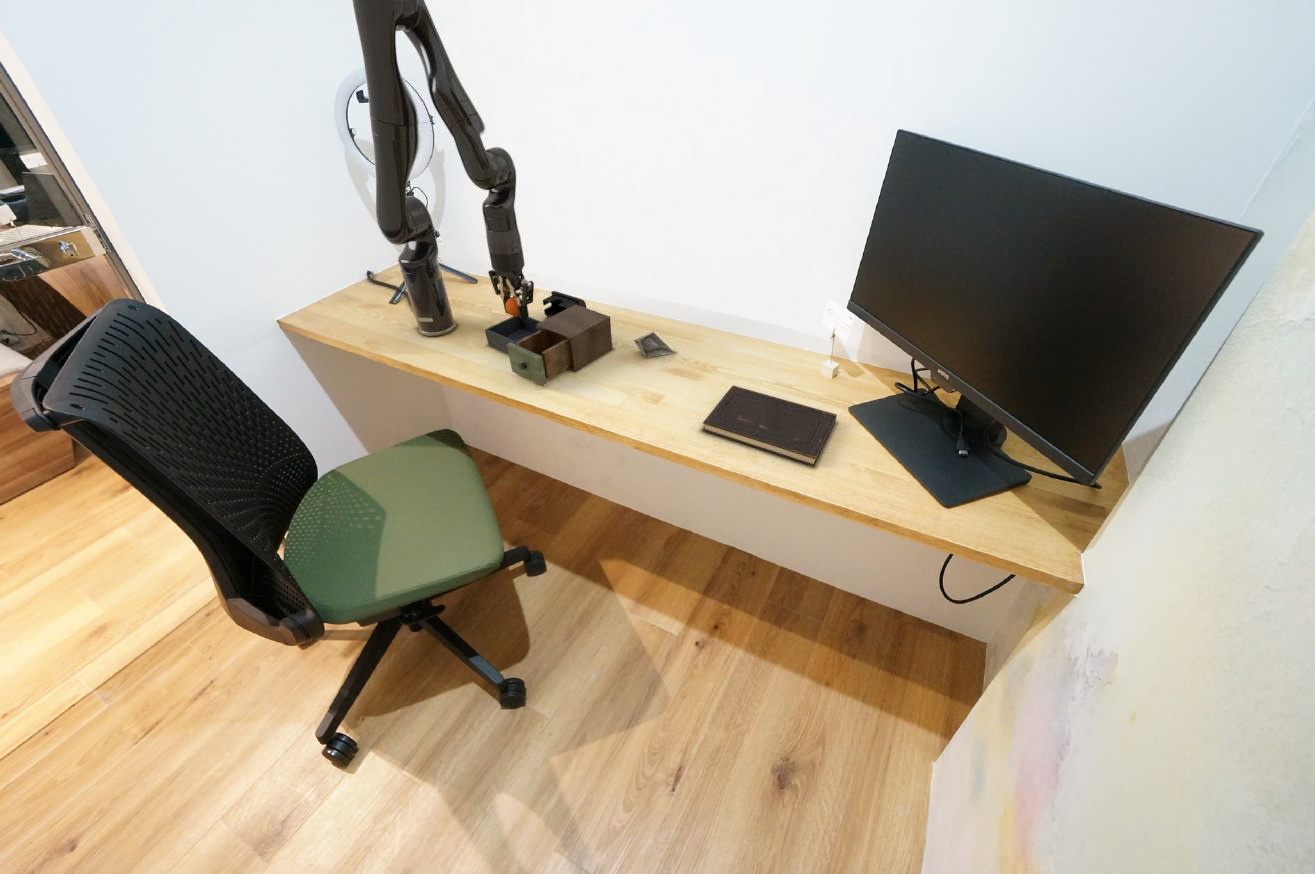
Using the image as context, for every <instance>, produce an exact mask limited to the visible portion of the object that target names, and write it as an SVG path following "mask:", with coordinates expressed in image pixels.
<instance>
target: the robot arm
mask: <svg viewBox="0 0 1315 874" xmlns="http://www.w3.org/2000/svg"><path fill="white" fill-rule="evenodd" d="M352 6H353V12H354V17H355V22H356V27H357V31H358V32H357V33H358V36H359V37H358V38H359V42H360V48H361V52H362V53H361V54H362V58H363V64H364V65H363V67H364V72H365V80H366V87H367V96H368V109H369V110H368V111H369V121H370V130H371V137H372V144H373V153H374V154H373V156H374V168H375V169H374V170H375V215H376V216H375V217H376V223H377V225H378V229H379V230H380V233H381V234H382V236H383V237H384V239H385V240H386V241H387V242H389V243H390V244H392V245H395V246H400V245H401V246H402V245H404V248H403V249H402V251H401V252H400V254H399V255H398V258H397V262H398V263H397V264H398V267H399V269H400V273H401V276H402V279H403V282H404V285H405V288H406V290H404V292H403V293H402V294H404V296H406V298H407V302H408V304H409V306H410V307H411V308H412V311H413V315H414V319H415V321H416V325H417V327H418V330H419V333H420V334H421V335H423V336H426V337H438V336H443V335H446V334H449V333H451V332H453V331H454V330H455V329H456V327H457V323H456V321H455V317H454V314H453V309H452V307H451V303H450V300H449V295H448V292H447V289H446V288H447V287H446V285H445V281H444V278H443V274H442V271H441V267H440V263H439V246H438V245H439V244H438V242H437V241H438V240H437V236H436V232H435V226H434V223H433V220H432V216H431V214H430V211H429V210H428V208H427V206H426V205H425V203H424V202H423V201H422V200H421V199H419V198H418V197H416V196H414V195H407V189H408V183H409V180H410V176H411V173H412V171H413V168H414V166H415V163H416V160H417V157H418V154H419V150H420V137H421V136H420V121H419V120H420V119H419V112H418V108H417V105H416V102H415V100H414V98H413V96H412V93H411V92H410V89H409V87H408V86H407V84H406V82H405V80H404V77H403V75H402V73H401V71H400V66H399V61H398V55H397V43H396V42H397V39H396V37H397V36H396V35H397V32H403V33H404V35H405V36H406V38H407V39H408V40H409V41H410V43H411V44H412V46H413V48H414V49H415V51H416V53H417V54H418V57H419V59H420V61H421V64H422V68H423V71H424V76H425V80H426V86H427V91H428V93H429V97H430V100H431V102H432V104H433V107H434V108H435V110H436V113H437V114H438V116H439V117H440V120H441V121H442V122H443V124H444V126H445V127H446V129H447V130H448V132H449V134H450V136H451V137H452V138H453V140H454V141H453V142H454V144H455V147H456V150H457V153H458V155H459V159H460V161H461V164H462V167H463V169H464V171H465V174H466V175H467V177H468V178H469V180H470V181H471V182H472V183H473V185H475V187H477V188H479V189H480V190H483V191H488V194H487V196H486V197H485V199H484V200H483V201H482V204H481V213H482V217H483V221H484V222H483V223H484V227H485V238H486V245H487V248H488V254H489V259H490V264H491V268H492V269H491V270H488V272H487V273H488V276H489V279H490V282H491V285H492V287H493V290H494V293H495V295H496V296H500V299H501V300H502V303H503V308H504V309H503V310H504V312H505V314H508V315H510V314H509V313H508V312H507V310H506V307H505V305H506V302H507V300H508V299H509V298H511V297H515V299H516V301H517V304H518V311H519V317H520V319H522V320H524V319H526V318H528V316H529V315H530V314H529V308H528V307H529V306H528V305H530V304H532V303H534V292H535V291H534V290H535V283H534V281H533V280H527V279H526V278H525V275H524V273H523V268H524V267H525V257H524V249H523V244H522V238H521V233H520V230H519V226H518V219H517V213H516V207H515V204H516V195H517V194H516V193H517V190H516V189H517V171H516V166H515V162H514V160H513V158H512V156H511V154H510V153H509V152H508V151H507V150H506V149H504V148H502V147H499V146H493V147H490V148H487V149H486V148H485V145H484V143H483V140H482V136H483V135H484V134H485V132H486V125H485V123H484V121H483V118H482V116H481V115H480V114H479V111H478V110H477V108H476V107H475V105H474V103H473V101H472V100H471V98H470V96H469V94H468V93H467V91H466V89H465V87H464V85H463V84H462V82H461V80H460V78H459V76H458V74H457V72H456V70H455V68H454V66H453V64H452V62H451V59H450V57H449V54H448V52H447V50H446V48H445V45H444V44H443V41H442V39H441V36H440V33H439V32H438V30H437V28H436V25H435V23H434V20H433V18H432V15H431V14H430V11H429V8H428V6H427V4H426V1H425V0H352ZM370 271H371V270H370ZM370 271H368V270H366V278H367V280H368V281H370V282H371V283H374V284H377V285H381V286H384V287H387V288H390V289H391V288H392V289H393V290H396V291H399V288H400V287H399V286H396V285H394V284H390V283H387V282H385V281H381V280H376V279H374V278H372V277H371V274H372V271H371V272H370ZM520 298H521V299H522V300H521V299H520ZM529 317H530V316H529Z"/></svg>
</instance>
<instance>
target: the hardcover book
mask: <svg viewBox="0 0 1315 874" xmlns="http://www.w3.org/2000/svg"><path fill="white" fill-rule="evenodd" d="M708 414H709V415H708V416H706V418H705V419H704V420H703V422H702V424H703V425H704V427H703V428H702V432H705V433H708V434H711V435H713V436H717V437H720V438H723V439H727V440H729V441H733V442H735V443H738V444H742V445H744V446H748V447H751V448H754V449H757V450H760V451H763V452H766V453H769V454H773V455H776V456H778V457H781V458H784V459H788V460H791V461H794V462H797V463H800V464H803V465H806V466H809V467H812V468H814V467H815V465H816V463H817V461H818V458H819V457H820V455H821V453H822V451H823V449H824V446H825V444H826V442H827V440H828V438H829V436H830V434H831V432H832V429H833V428H834V426H835V424H836V421H837V417H838V414H836V413H833V412H830V411H826V410H822V409H819V408H815V407H812V406H808V405H805V404H801V403H797V402H795V401H791V400H787V399H784V398H780V397H776V396H772V395H769V394H765V393H763V392H758V391H756V390H751V389H748V388H744V387H740V386H737V385H734V384H733V385H732V386H731V387H730V388H729V390H727V392H725V394H724V396H723V397H722V398H721V399H720V401H719V402H718V403H717V404H716V406H715V407H714V408H713V409H712V410H711V412H710V413H708Z"/></svg>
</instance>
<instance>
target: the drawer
mask: <svg viewBox="0 0 1315 874" xmlns="http://www.w3.org/2000/svg"><path fill="white" fill-rule="evenodd" d="M517 343H518V345H515V344H513V343H511V342H510V343H508V344H507V348H508V353H509V355H508V357H509V362H510V367H511V372H512V373H514V374H516V375H519V376H520V377H523V378H524V379H526V380H529V381H531V382H533V383H536V384H537V385H540V386H541V387H543V386H545V385H547V380H549V379H551V378H553V377H554V376H555V377H556V375H558V374H560V373H562V372H563V371H565V370H567V368H568V367H570V366H572V362H571V354H570V346H569V340H567V339H565V338H562V337H560V336H557V335H555V334H552V333H550V332H547V331H545V330H542V329H541V330H539V331H538V332H536V333H534V334H532V335H530V336H528V337H526V338H524V339H522V340H520V341H518V342H517ZM546 379H547V380H546Z"/></svg>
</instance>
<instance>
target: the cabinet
mask: <svg viewBox="0 0 1315 874" xmlns="http://www.w3.org/2000/svg"><path fill="white" fill-rule="evenodd" d="M611 323H612V322H611V316H610V315H607V314H604V313H601V312H598V311H595V310H592V309H590V308H587V307H586V308H584V307H582V306H579V305H574V306H572V307H570V308H568V309H566V310H564V311H562V312H560V313H558V314H556V315H554V316H552V317H550V318H548V319H546V318H545V319H544V320H541V322H540V323H538V324H536V327H537V332H538V331H539V330H541V329H542V330H545V331H547V332H550V333H552V334H555V335H557V336H560V337H562V338H565V339H567V340H569V346H570V354H571V362H572V366H570V367H568V368H566V370H569V371H572V372H573V373H576V372H577V371H579V370H581V369H582V368H584V367H586V366H587V365H589V364H591V363H593V362H594V361H596V360H598V359H599V358H601V357H602V356H604V355H606V354H607V353H609V352H611V351H612V350H613V338H612V324H611Z"/></svg>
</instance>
